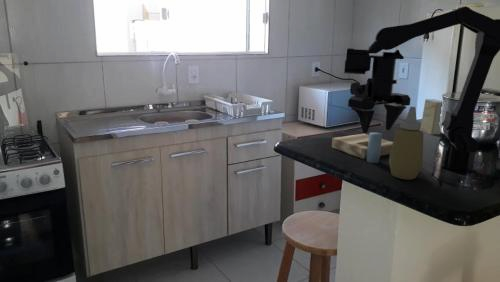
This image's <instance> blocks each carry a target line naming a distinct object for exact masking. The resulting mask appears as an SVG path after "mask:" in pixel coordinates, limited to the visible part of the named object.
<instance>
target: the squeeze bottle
mask: <svg viewBox="0 0 500 282" xmlns="http://www.w3.org/2000/svg"><path fill="white" fill-rule="evenodd" d="M416 109H417V108H416V107H415V106H410V107H409V110H408V113H407V115H406V118H405V119H402V120H401V121H400V128H398V129H396V130H395V133H394V137H393V141H392V142H393V145H392V149H391V153H390V154H389V157H388V163H389V168H390V173H391V175H392V177H395V178H397V179H401V180H408V181H409V180H414V179H416V178H417V176H418V174H419V173H420V170H421V168H422V167H423V161H424V160H423V157H424V132H422V131H420V128H421V121H417V110H416Z"/></svg>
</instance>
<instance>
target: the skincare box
mask: <svg viewBox="0 0 500 282" xmlns="http://www.w3.org/2000/svg"><path fill="white" fill-rule="evenodd" d="M442 101H443V100H440V99H436V98H435V99H432V98H431V99H429V98H426V99H424V106H423V112H422V116H421V121H420V123H421V126H420V129H419V130H420V131H422V132H423V133H425V134H428V135H432V136H433V135H434V136H435V134H436V135H441V131H440V127H439V122H440V114H441V107H442Z"/></svg>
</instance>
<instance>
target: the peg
mask: <svg viewBox="0 0 500 282" xmlns="http://www.w3.org/2000/svg"><path fill="white" fill-rule="evenodd" d="M368 135H369V141H368V150H367V159H365V160H366V162H368V163H370V164H377V163H378V164H379V163H380V157H381V156H380V150H381V141H382V139H383V134H382V133H381V132H376V131H375V132H373V131H372V132H369V133H368Z"/></svg>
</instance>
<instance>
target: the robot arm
mask: <svg viewBox="0 0 500 282" xmlns="http://www.w3.org/2000/svg"><path fill="white" fill-rule="evenodd" d="M457 25H460V26H462V27H464V28H465V29H466V30H469V31H470V32H473V33H475V34H476V35H475V36H476V37H475V41H474V44H475V45H474V56H473V60H472V62H471V64H470V66H469V67H470V68H469V70H468V73H467V76H466V78H465V82H464V84H463V88H462V90H461V93H460V96H459V99H458V101H457V103H456V106H455V107H454V109H453V110H452V111H448V110H446V111H445V115H444V118H443V121H442V124H441V125H442V126H441V127H443V128H442V133H443V134H444V135H445V137H446V138H447V139H448V140H449V143H450V144H448V146H447V149H446V150H445V155H444V159H443V160H444V161H443V164H442V165H441V168H443V169H446V170H449V171H452V172H456V173H459V174H462V175H464V174H468V173H471V172H476V171H477V168H476V167H474V166H475V161H476V155H477V152H478V149H479V148H480V144H479V143H478V142H477V140H475V138H474V137H473V135H472V134H473V129H474V122H475V120H474V117H475V116H474V114H475V109H476V107H477V104H478V101H479V100H480V99H479V98H480V95H481V94H482V90H483V88H484V85H485V82H486V79H487V77H488V74H489V71H490V70H491V69H490V68H491V66H492V63H493V61H494V59H495V57H496V56H497V54H498V53H499V52H500V18H495V19H493V18H491V17H489V16H487V15H484V14H483V13H480V12H477V11H475V10H473V9H472V8H470V7H468V6H461V7H457V8H456V9H453V10H451V11H447V12H445V13H441V14H438V15H435V16H432V17H428V18H425V19H422V20H419V21H415V22H412V23H410V24H402V25H393V26H386V27H382V28H380V29H379V30H378V31H377V32H376V34H375V37H374V41H373V42H372V43H371V44H370V45H369V46H368V48H367V49H356V48H352V47H350V48H349V47H348V48H347V49H346V57H345V60H344V71H343V73H344V74H349V75H350V74H351V75H366V72H371V77H369V78H367V80H366V83H365V84H361V83H360V82H351V84H350V89H349V91H350V94H351V95H352V96H350V98H349V99H348V105H347V106H348V108H350V109H351V110H352V111H354V112H355V113H356V115H357V116H358V119H359V123H360V126H361V131H362V134H368V131H369V129H370V126H371V124H372V119H373V116H374V114H375V110H374V108H375V106H376V105H383V106H384V109H385V110H386V111H385V112H386V115H385V130H386V131H390V130H391V129H392V127H393V125H394V124H395V123H396V122H397V120H398V119H399V118H400V116H401V114H402V113H403V111H404V110H405V109H407V106H410V105H411V97H410V95H409V94H406V93H405V94H404V93H398V92H393V88H394V87H393V86H394V85H397V80H398V79H394V77H395V68H396V60H404V58H405V57H404V56H403V54H402V53H401V52H400V50H399V49H396V50H394V52H391V51H389V50H392V49H395V48H397V47H399V46H401V45H403V44H405V43H407V42H409V41H410V40H412V39H415V38H417V37H421V36H424V35H427V34H431V33H434V32H438V31H441V30H444V29H446V28H448V29H449V28H450V27H453V26H457ZM383 50H384V51H383ZM381 51H383V52H382V55H376V54H378V53H379V52H381ZM370 54H371V55H370ZM372 54H373V55H372ZM374 54H375V55H374ZM372 59H373V60H372ZM371 63H372V67H371ZM371 69H372V71H371Z"/></svg>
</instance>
